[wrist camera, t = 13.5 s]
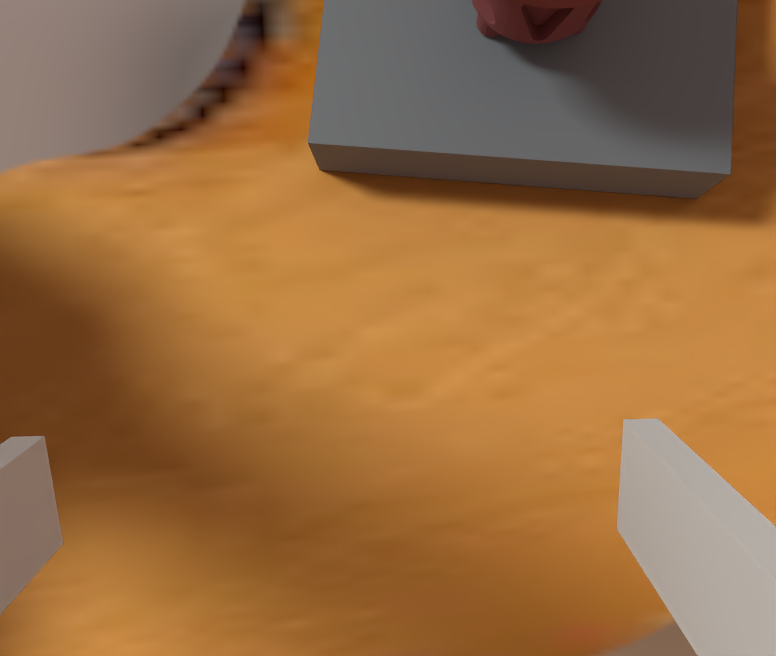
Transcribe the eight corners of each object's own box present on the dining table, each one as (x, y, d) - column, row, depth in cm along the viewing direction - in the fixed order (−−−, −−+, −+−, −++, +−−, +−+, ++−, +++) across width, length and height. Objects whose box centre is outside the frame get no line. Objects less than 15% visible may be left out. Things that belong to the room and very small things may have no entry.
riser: (319, 170, 38) (307, 142, 34) (350, -106, 40) (343, -162, 36) (696, 198, 36) (730, 174, 32) (709, -88, 38) (743, -145, 34)
